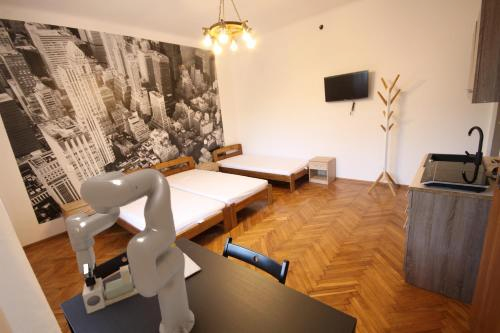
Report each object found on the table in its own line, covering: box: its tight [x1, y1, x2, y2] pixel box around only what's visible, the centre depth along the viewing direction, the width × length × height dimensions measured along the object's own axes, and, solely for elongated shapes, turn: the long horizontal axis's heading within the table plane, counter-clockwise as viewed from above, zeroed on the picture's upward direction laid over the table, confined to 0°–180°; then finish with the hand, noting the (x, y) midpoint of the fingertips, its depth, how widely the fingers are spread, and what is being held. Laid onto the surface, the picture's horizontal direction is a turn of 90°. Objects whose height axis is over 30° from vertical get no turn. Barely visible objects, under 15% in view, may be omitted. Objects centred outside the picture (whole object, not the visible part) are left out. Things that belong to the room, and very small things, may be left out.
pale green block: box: [104, 281, 140, 307], centre depth 102 cm, size 7×18×6 cm, turn 120°
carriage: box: [104, 264, 134, 300], centre depth 100 cm, size 6×10×10 cm, turn 120°
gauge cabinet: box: [82, 277, 106, 315], centre depth 96 cm, size 8×6×9 cm
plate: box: [183, 252, 202, 279], centre depth 114 cm, size 19×19×2 cm
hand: (92, 278), depth 98 cm, fingers open, 9 cm apart
